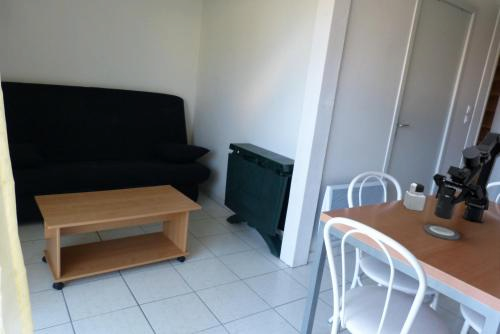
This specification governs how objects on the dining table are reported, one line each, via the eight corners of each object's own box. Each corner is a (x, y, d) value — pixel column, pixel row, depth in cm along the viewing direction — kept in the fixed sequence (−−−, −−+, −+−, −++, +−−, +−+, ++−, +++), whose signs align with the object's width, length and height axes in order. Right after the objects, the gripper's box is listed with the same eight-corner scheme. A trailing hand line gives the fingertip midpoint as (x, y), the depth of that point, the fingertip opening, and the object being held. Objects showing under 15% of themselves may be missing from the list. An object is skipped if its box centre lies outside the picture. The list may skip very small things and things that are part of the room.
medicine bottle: (417, 206, 180) (422, 183, 177) (423, 211, 173) (428, 187, 170) (403, 204, 180) (407, 181, 178) (407, 209, 173) (412, 185, 171)
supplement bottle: (454, 221, 142) (462, 191, 139) (436, 218, 143) (442, 188, 140) (449, 215, 148) (455, 187, 146) (431, 212, 150) (437, 184, 147)
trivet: (448, 228, 153) (449, 226, 153) (466, 241, 140) (467, 239, 140) (418, 225, 152) (418, 223, 152) (433, 238, 140) (433, 235, 140)
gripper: (440, 154, 150) (417, 181, 148) (486, 165, 134) (461, 195, 132) (448, 172, 156) (426, 198, 153) (493, 185, 140) (469, 214, 137)
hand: (444, 201), depth 144 cm, fingers closed on supplement bottle, 7 cm apart
